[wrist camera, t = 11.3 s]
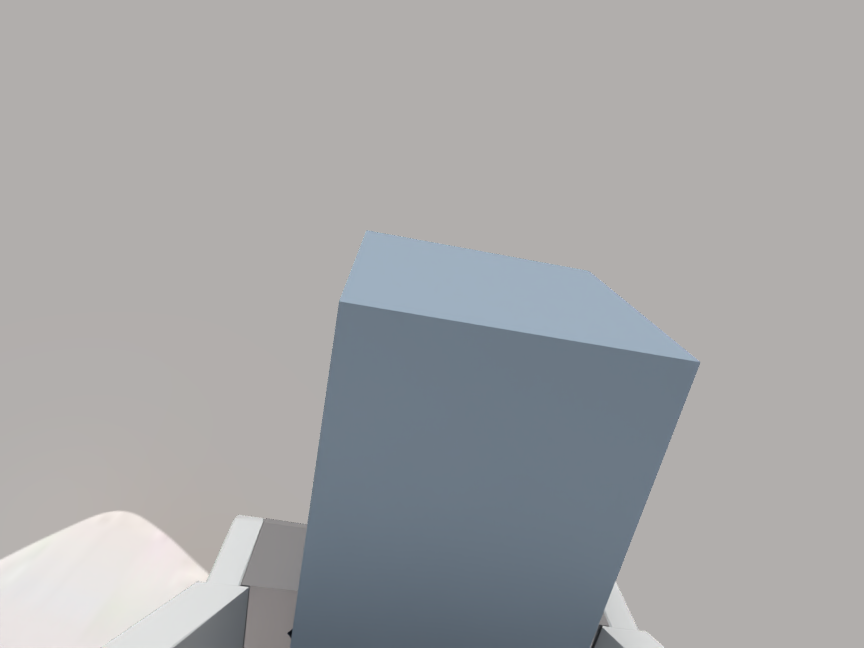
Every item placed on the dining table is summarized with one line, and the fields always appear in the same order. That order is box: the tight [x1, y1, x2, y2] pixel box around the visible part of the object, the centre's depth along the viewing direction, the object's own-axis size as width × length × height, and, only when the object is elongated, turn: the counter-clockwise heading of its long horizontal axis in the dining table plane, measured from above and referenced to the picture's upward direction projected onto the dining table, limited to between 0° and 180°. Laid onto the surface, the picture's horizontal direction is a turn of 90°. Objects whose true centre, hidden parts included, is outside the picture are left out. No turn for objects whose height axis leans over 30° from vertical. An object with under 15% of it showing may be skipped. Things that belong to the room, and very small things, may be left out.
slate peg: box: [290, 231, 700, 648], centre depth 10 cm, size 4×4×14 cm
